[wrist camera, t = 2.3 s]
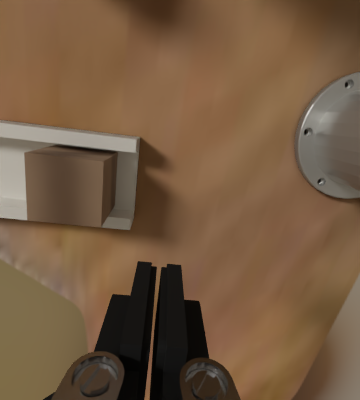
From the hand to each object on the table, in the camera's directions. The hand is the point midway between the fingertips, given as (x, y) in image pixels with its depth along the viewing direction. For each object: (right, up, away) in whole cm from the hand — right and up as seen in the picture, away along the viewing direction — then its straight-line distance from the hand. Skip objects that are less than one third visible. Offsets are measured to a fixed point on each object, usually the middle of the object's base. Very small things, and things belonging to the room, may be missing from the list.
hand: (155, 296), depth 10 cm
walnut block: (-9, +6, +18) cm, 21 cm away
